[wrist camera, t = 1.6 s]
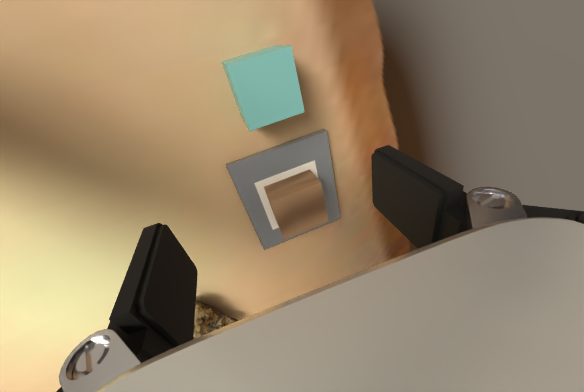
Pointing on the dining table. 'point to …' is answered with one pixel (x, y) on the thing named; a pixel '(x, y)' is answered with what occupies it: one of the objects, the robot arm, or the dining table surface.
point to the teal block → (265, 86)
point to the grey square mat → (278, 166)
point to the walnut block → (297, 203)
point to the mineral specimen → (208, 320)
